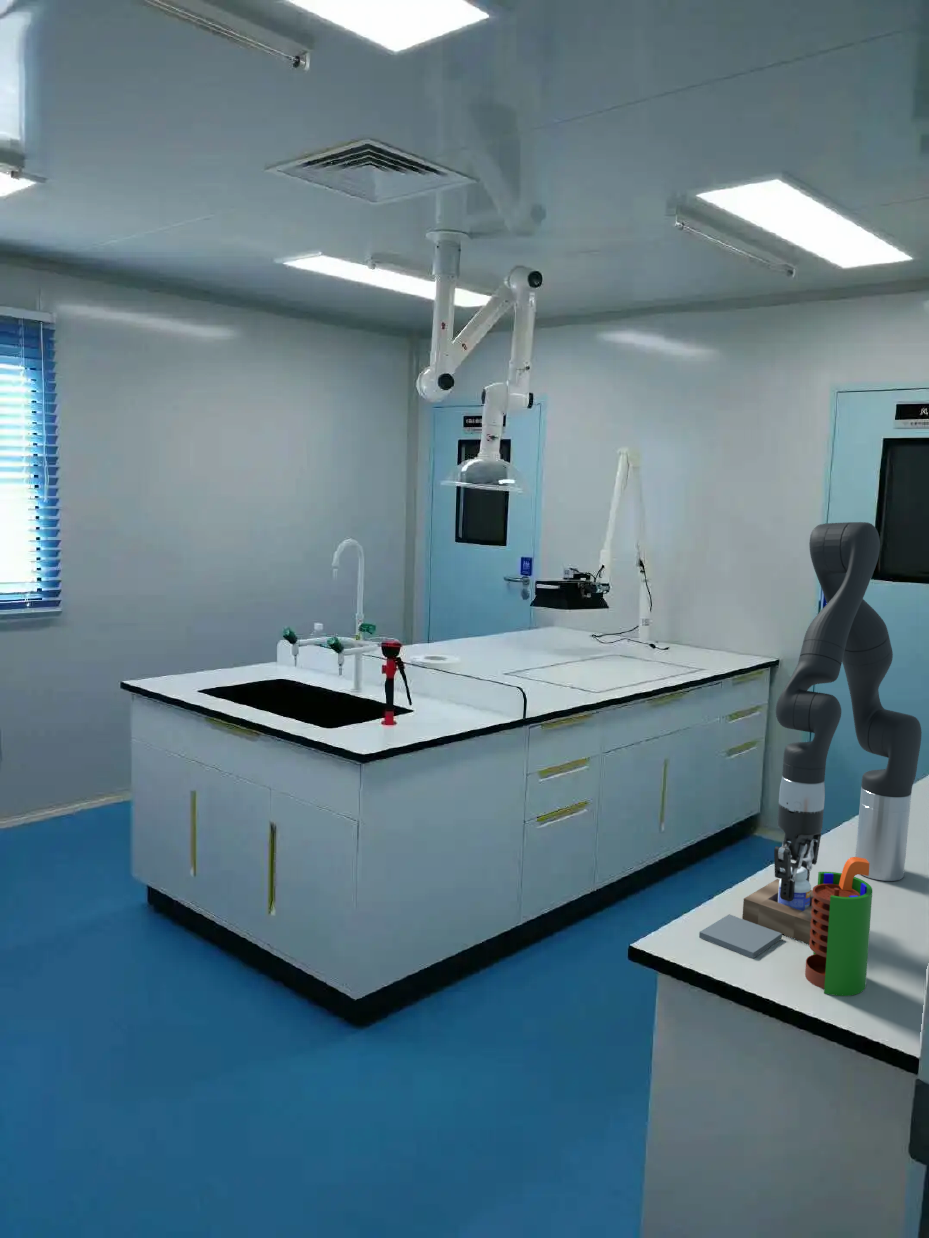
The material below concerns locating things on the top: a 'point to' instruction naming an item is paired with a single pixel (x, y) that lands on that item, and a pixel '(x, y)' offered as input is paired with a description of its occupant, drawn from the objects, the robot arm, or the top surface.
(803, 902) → the pill bottle
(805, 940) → the socket block
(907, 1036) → the top surface
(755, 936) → the mat
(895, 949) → the top surface
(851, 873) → the green brown cylinder
